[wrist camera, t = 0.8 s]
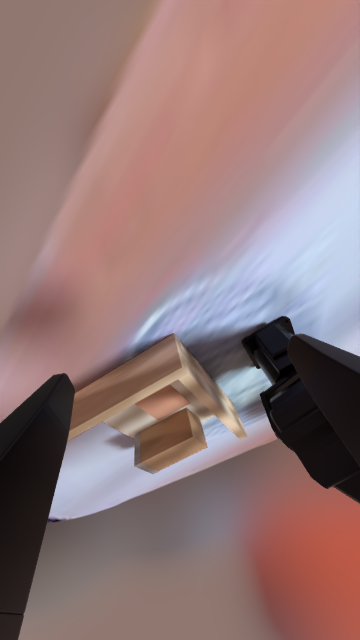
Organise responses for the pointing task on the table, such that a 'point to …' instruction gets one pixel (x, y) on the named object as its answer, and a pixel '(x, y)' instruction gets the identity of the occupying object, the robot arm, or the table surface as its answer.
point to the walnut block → (169, 441)
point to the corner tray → (152, 393)
